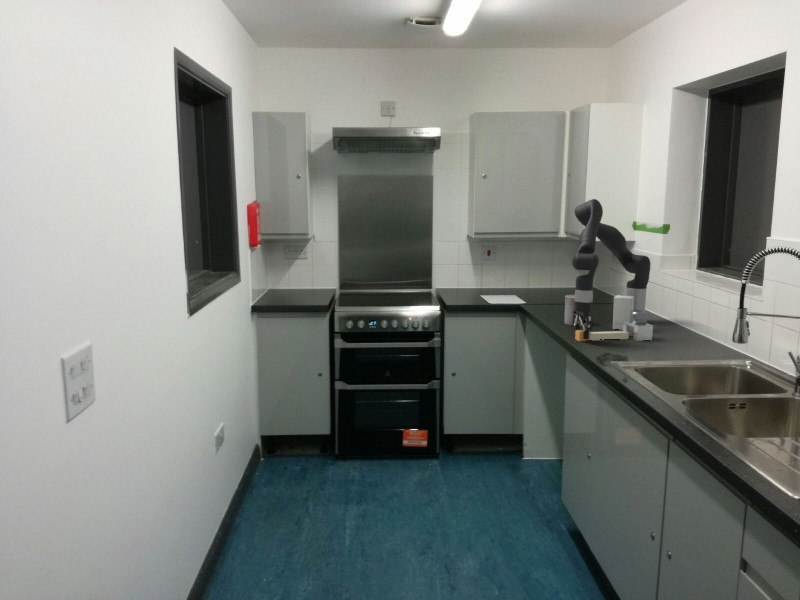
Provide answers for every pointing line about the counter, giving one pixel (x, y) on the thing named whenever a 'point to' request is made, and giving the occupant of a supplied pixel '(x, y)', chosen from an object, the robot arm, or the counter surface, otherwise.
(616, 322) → the skincare box
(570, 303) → the pillar candle
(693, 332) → the counter surface
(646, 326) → the grey box with ball
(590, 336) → the plug rod
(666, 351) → the counter surface
